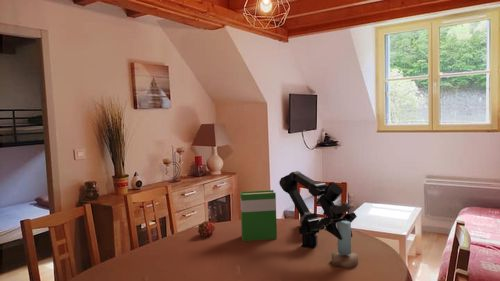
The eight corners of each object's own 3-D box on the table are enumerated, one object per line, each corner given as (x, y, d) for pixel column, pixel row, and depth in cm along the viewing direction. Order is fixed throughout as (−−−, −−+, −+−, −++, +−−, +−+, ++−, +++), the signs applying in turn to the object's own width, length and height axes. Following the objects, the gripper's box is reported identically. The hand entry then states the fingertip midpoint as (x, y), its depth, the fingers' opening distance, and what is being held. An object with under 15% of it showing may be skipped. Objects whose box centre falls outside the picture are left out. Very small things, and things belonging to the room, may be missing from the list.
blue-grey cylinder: (335, 252, 159) (334, 222, 158) (343, 249, 163) (342, 219, 162) (346, 255, 155) (345, 225, 154) (353, 252, 158) (353, 222, 158)
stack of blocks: (301, 225, 214) (300, 204, 213) (312, 225, 213) (311, 204, 212) (300, 237, 193) (299, 214, 192) (312, 237, 192) (311, 214, 191)
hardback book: (274, 234, 199) (273, 190, 198) (276, 238, 192) (275, 193, 190) (241, 236, 198) (240, 191, 196) (242, 241, 190) (241, 194, 188)
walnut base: (328, 265, 157) (328, 258, 156) (335, 255, 166) (334, 249, 166) (355, 269, 152) (355, 262, 152) (360, 259, 162) (360, 252, 161)
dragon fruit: (201, 242, 194) (208, 238, 206) (214, 233, 193) (220, 229, 205) (192, 229, 196) (200, 225, 208) (205, 219, 195) (212, 216, 207)
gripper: (320, 200, 156) (338, 232, 147) (353, 194, 165) (372, 224, 156) (309, 214, 164) (326, 246, 155) (341, 207, 172) (359, 237, 164)
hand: (346, 238), depth 157 cm, fingers closed on blue-grey cylinder, 5 cm apart
